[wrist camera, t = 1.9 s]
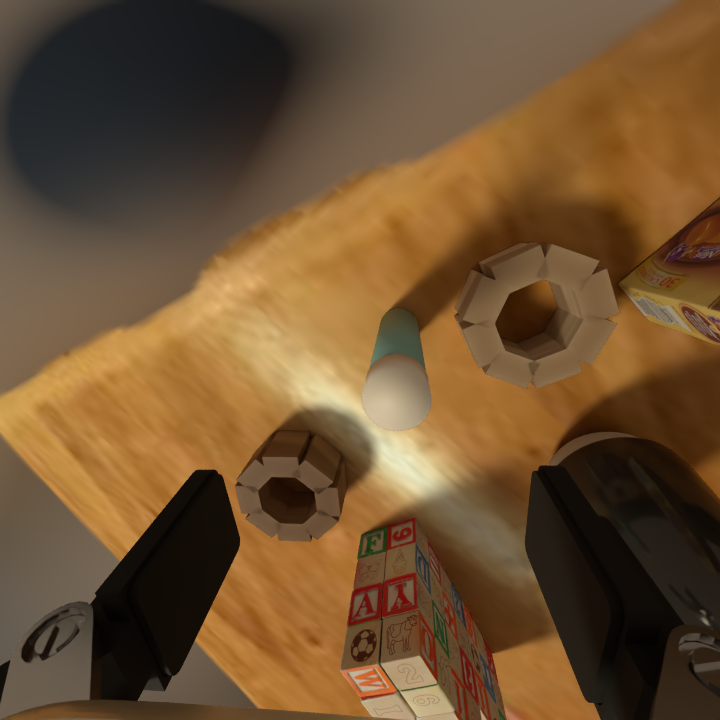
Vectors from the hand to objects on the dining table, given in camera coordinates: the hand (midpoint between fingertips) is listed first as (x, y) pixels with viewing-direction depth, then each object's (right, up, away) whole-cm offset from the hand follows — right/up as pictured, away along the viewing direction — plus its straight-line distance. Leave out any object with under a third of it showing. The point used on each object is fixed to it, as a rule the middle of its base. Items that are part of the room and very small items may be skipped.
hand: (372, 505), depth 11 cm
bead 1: (-6, -6, +23) cm, 25 cm away
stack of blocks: (+7, -21, +27) cm, 35 cm away
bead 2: (+12, +8, +16) cm, 21 cm away
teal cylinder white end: (+3, +7, +17) cm, 19 cm away
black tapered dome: (+20, -5, +20) cm, 28 cm away
